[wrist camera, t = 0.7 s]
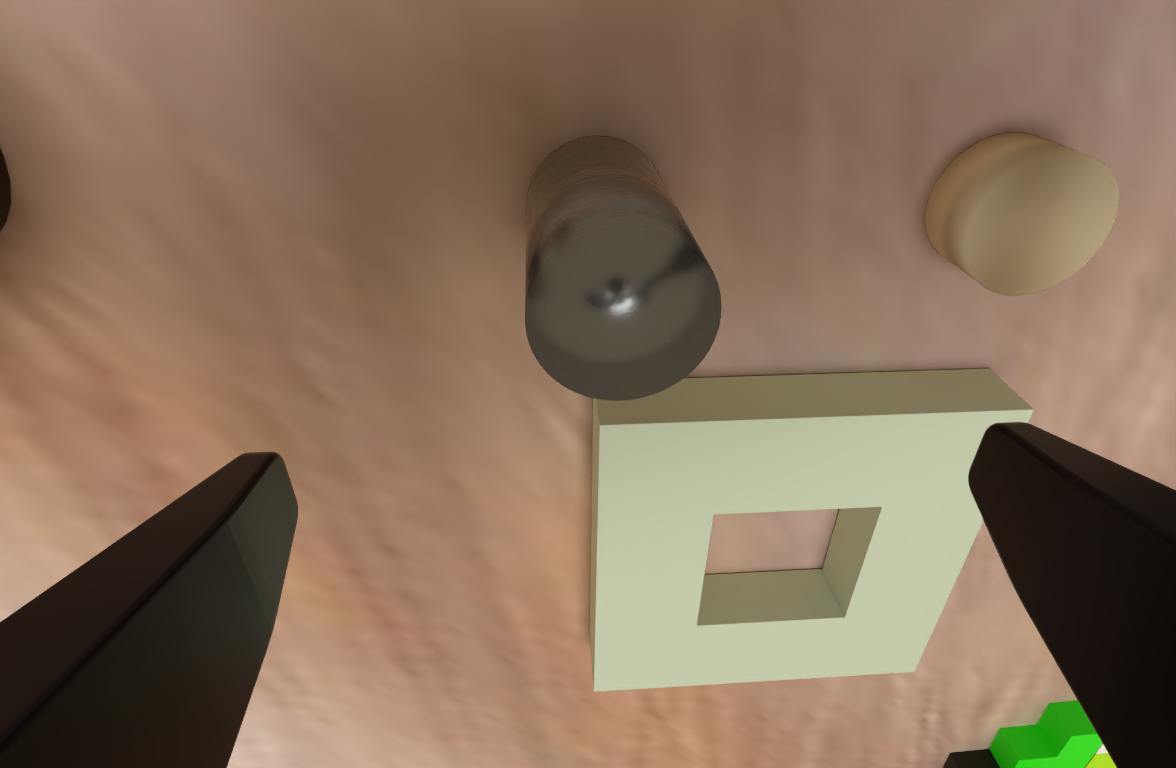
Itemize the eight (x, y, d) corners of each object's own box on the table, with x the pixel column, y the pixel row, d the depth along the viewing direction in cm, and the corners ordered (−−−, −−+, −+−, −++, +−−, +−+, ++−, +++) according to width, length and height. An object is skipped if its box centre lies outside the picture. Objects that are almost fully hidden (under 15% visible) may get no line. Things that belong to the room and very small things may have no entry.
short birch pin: (1079, 130, 19) (1145, 153, 17) (1028, 260, 22) (1082, 294, 19) (946, 131, 19) (997, 154, 17) (908, 263, 21) (949, 297, 19)
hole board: (989, 368, 24) (1034, 409, 22) (888, 623, 31) (914, 671, 29) (593, 381, 23) (599, 425, 21) (589, 640, 30) (594, 691, 28)
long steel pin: (669, 135, 18) (733, 222, 13) (659, 269, 21) (710, 397, 15) (523, 136, 18) (520, 226, 12) (529, 272, 20) (529, 403, 15)
